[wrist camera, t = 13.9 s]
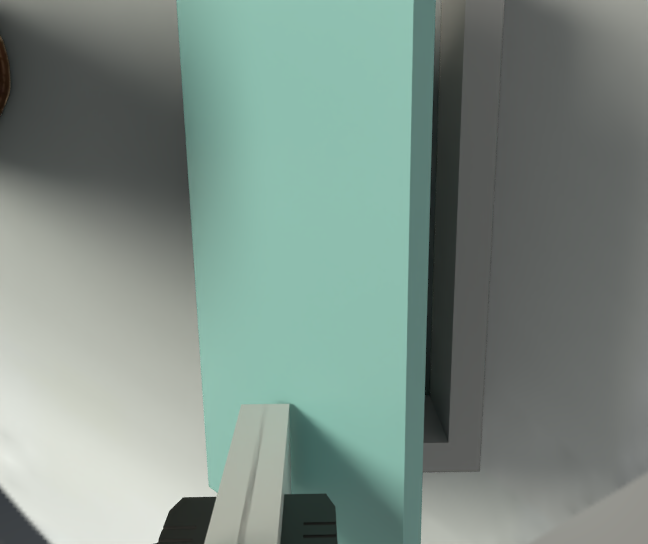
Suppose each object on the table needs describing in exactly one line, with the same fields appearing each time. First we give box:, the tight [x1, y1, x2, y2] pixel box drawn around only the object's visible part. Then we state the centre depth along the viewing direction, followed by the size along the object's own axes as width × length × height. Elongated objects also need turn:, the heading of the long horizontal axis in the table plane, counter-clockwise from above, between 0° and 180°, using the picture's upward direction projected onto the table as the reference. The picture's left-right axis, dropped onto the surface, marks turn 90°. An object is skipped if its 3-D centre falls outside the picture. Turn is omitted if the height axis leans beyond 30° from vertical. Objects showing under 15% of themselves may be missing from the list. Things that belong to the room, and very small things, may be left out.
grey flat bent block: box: [423, 0, 504, 472], centre depth 22 cm, size 18×9×4 cm, turn 1°
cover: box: [176, 0, 436, 544], centre depth 17 cm, size 18×9×1 cm
